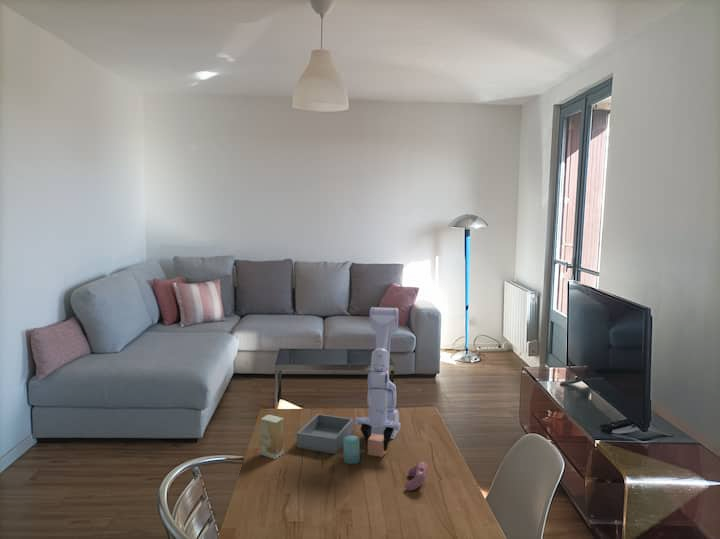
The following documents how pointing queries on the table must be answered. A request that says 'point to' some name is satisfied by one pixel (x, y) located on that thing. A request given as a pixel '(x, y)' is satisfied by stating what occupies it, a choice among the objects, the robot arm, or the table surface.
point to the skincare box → (272, 436)
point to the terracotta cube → (376, 445)
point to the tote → (325, 433)
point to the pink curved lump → (417, 476)
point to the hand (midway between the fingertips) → (377, 448)
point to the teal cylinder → (351, 449)
